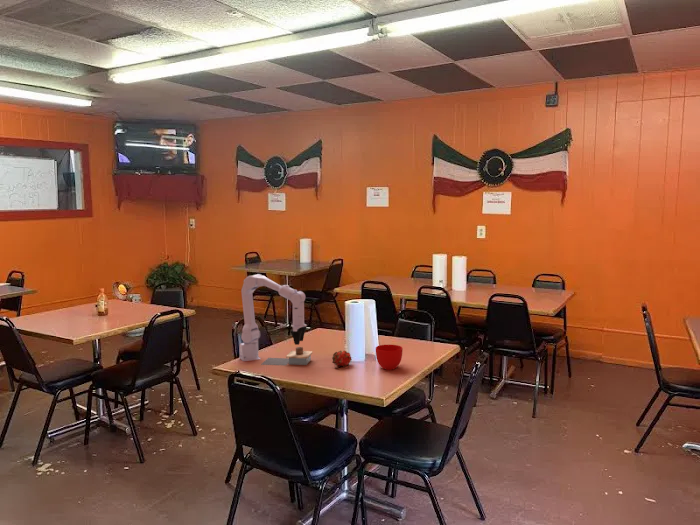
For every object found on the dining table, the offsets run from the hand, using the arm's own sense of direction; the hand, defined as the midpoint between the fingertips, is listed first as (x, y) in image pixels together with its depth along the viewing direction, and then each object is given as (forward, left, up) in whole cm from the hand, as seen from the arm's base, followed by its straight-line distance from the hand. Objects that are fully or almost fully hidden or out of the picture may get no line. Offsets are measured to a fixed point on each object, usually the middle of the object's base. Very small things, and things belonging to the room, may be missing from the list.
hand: (298, 342), depth 273 cm
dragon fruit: (+17, -15, -11) cm, 25 cm away
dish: (0, -1, -10) cm, 10 cm away
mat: (-10, +6, -10) cm, 15 cm away
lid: (0, -1, -6) cm, 6 cm away
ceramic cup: (+37, -28, -11) cm, 48 cm away
